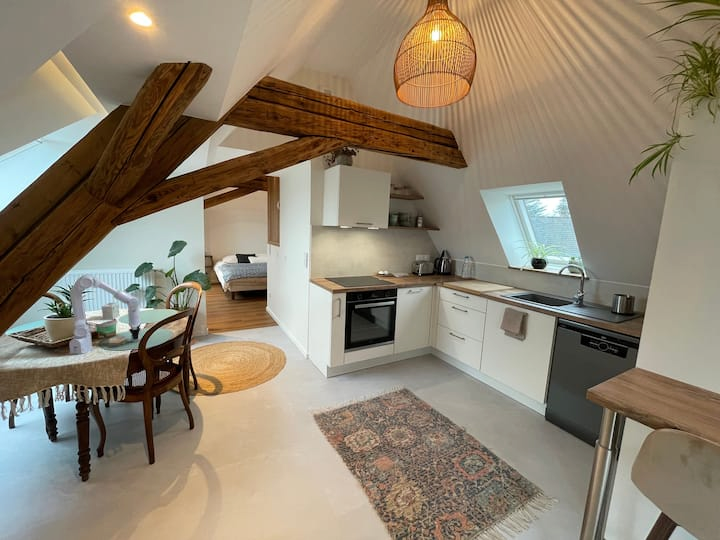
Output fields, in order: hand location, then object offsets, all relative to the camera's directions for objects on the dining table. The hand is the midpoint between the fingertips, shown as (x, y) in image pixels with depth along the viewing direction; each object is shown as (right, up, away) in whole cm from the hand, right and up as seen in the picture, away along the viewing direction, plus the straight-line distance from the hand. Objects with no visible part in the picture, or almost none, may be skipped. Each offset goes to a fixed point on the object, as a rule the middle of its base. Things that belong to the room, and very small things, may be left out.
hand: (135, 337), depth 187 cm
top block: (-8, -1, -5) cm, 9 cm away
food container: (-21, -1, +6) cm, 22 cm away
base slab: (-8, -4, -5) cm, 10 cm away
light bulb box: (-49, +5, +40) cm, 63 cm away
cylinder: (0, -3, 0) cm, 3 cm away
